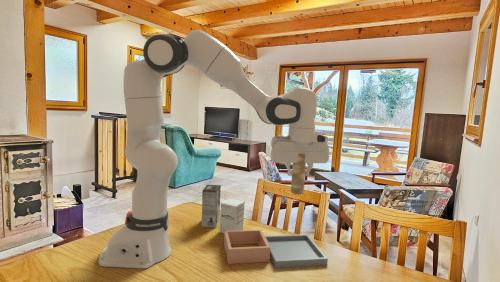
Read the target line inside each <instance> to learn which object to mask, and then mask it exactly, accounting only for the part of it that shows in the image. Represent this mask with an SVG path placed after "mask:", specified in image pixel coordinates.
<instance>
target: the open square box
mask: <svg viewBox="0 0 500 282" xmlns="http://www.w3.org/2000/svg"><path fill="white" fill-rule="evenodd" d="M223 234H224V238H223V244H224V248H225V249H224V250H225V255H226V260H227V264H228V265H229V264H248V263H262V262H263V263H265V262H267V263H268V262H270V259H271V257H270V246H269V244H268V242H267V240H266V238H265V236H266V235H265V234H264V233H263V231H262V229H243V230H230V231H225V233H223ZM246 244H249V245H250V244H258V245H259V246H240V247H237V246H236V247H232V245H246Z"/></svg>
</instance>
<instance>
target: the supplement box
mask: <svg viewBox="0 0 500 282" xmlns="http://www.w3.org/2000/svg"><path fill="white" fill-rule="evenodd" d="M244 217H245V201H243V200H238V199H234V198H228V199H226V200H224V201H221V202H220V219H219V233H221V234H224V233H225V231H230V230H244Z"/></svg>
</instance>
